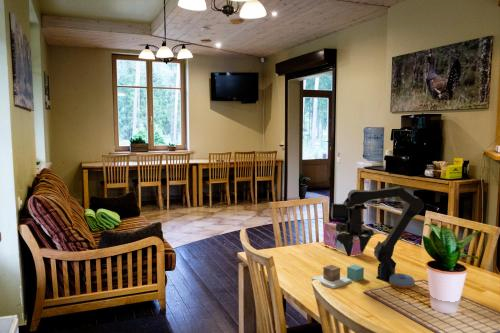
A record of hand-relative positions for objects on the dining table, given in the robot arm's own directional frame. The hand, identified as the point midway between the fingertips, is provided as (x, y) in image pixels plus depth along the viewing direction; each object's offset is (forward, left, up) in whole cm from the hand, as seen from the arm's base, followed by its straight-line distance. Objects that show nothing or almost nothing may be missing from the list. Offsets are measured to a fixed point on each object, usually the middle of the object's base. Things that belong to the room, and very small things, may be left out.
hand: (355, 254), depth 175 cm
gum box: (+31, -29, -11) cm, 44 cm away
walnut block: (+4, +11, -10) cm, 15 cm away
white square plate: (+4, +11, -11) cm, 16 cm away
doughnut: (-17, -9, -11) cm, 22 cm away
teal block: (0, 0, -11) cm, 11 cm away
